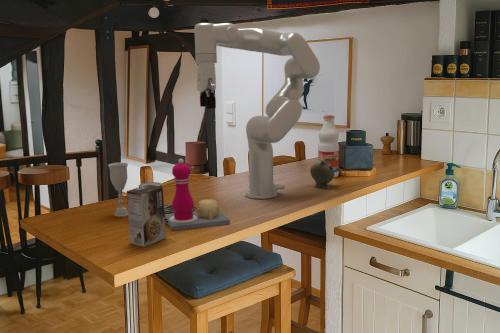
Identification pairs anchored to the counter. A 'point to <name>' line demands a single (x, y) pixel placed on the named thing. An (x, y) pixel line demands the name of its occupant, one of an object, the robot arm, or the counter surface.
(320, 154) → the fruit juice
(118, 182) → the chalice
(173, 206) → the pepper mill
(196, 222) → the plate
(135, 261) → the counter surface
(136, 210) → the coffee box
